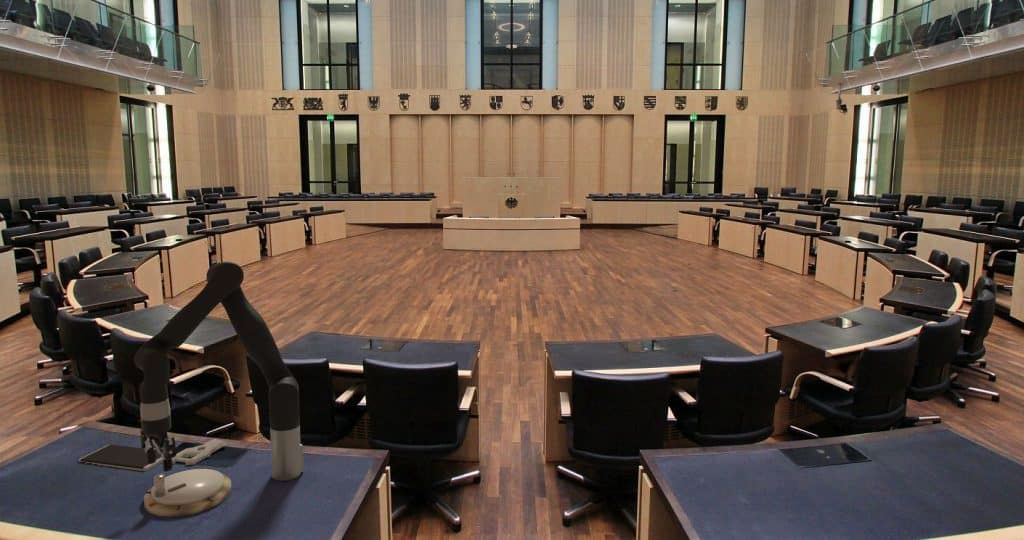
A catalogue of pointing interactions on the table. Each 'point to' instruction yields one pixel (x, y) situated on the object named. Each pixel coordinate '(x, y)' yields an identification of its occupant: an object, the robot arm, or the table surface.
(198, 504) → the dial base
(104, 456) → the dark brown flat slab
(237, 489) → the table surface
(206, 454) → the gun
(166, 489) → the dial
